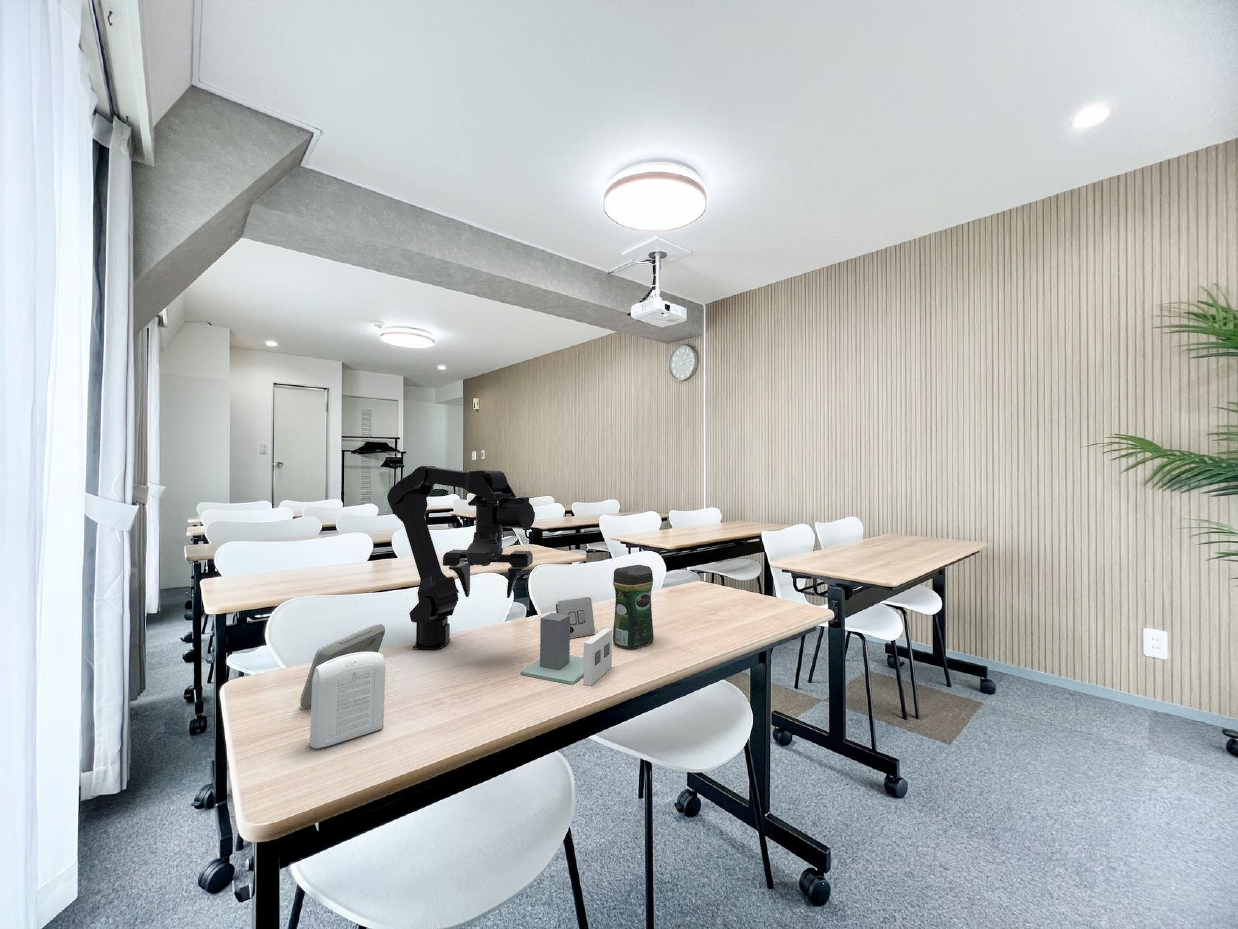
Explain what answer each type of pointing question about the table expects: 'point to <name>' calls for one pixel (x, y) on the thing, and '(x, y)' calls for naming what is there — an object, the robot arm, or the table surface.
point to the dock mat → (558, 671)
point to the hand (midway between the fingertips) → (488, 597)
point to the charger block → (555, 641)
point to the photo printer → (347, 698)
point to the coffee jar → (633, 606)
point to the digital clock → (343, 653)
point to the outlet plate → (597, 656)
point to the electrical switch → (578, 615)
